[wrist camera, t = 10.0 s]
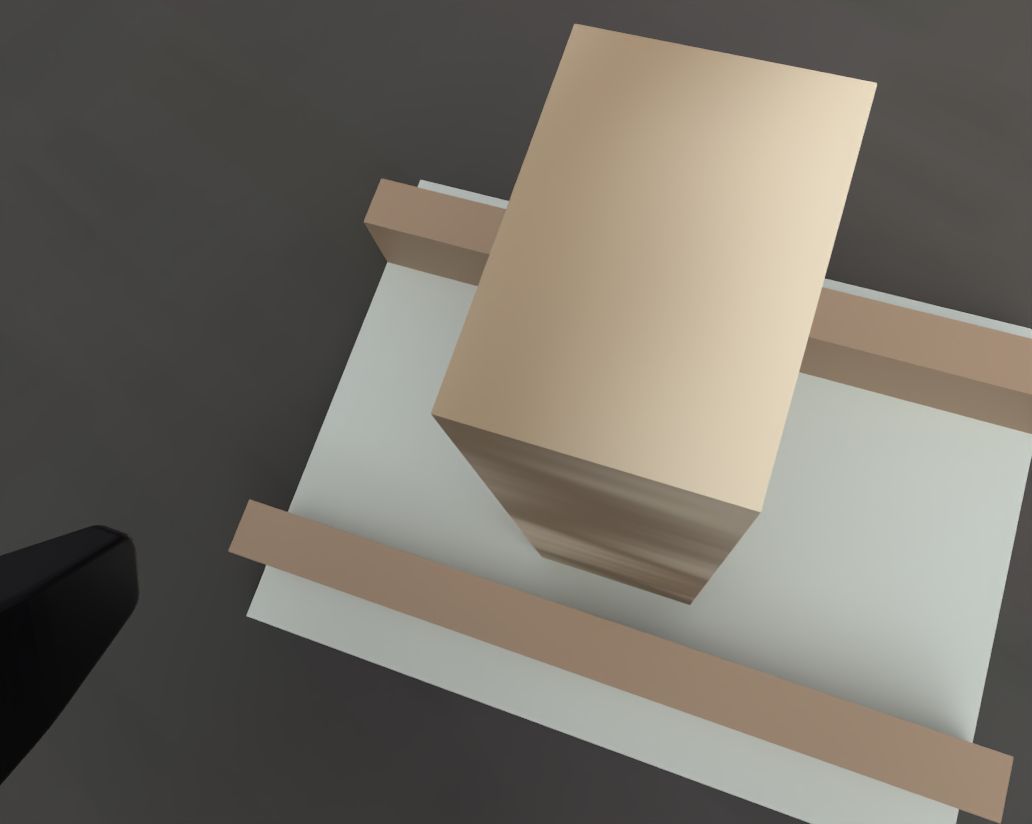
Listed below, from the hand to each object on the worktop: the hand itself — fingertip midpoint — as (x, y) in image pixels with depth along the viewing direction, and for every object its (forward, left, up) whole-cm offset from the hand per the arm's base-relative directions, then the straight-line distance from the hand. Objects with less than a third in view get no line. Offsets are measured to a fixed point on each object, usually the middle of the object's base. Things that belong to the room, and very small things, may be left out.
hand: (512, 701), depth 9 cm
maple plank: (+3, -4, -11) cm, 13 cm away
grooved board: (+3, -4, -12) cm, 13 cm away
